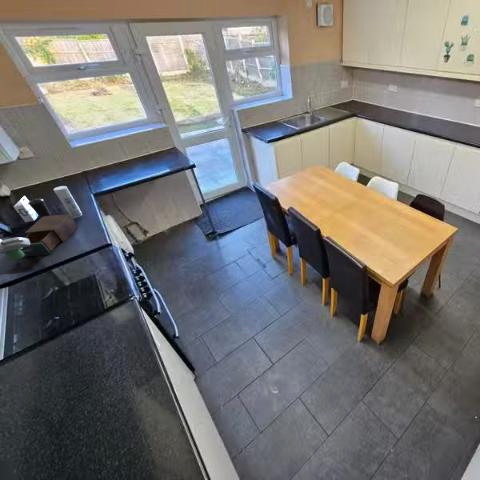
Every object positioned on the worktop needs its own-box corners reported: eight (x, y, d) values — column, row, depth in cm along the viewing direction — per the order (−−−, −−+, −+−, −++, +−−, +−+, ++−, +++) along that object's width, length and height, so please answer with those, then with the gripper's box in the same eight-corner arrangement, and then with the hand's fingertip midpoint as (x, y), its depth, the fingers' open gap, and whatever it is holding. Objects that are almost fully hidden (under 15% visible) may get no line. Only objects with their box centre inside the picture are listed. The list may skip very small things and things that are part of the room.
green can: (7, 261, 134) (-6, 248, 128) (15, 254, 138) (3, 241, 133) (20, 260, 134) (7, 247, 129) (27, 252, 138) (15, 240, 133)
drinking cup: (55, 215, 182) (37, 188, 170) (56, 220, 177) (38, 192, 166) (40, 220, 178) (20, 192, 166) (41, 224, 173) (21, 196, 162)
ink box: (29, 216, 181) (15, 196, 173) (39, 214, 183) (25, 195, 175) (24, 222, 175) (9, 202, 166) (34, 220, 177) (19, 200, 168)
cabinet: (63, 242, 159) (53, 229, 153) (36, 245, 157) (24, 232, 151) (78, 226, 171) (69, 213, 165) (53, 229, 170) (42, 216, 164)
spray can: (77, 212, 184) (61, 185, 173) (85, 213, 183) (69, 186, 171) (68, 217, 179) (50, 189, 168) (76, 218, 178) (58, 190, 166)
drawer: (45, 260, 146) (35, 249, 141) (17, 263, 144) (6, 252, 139) (65, 237, 161) (57, 226, 156) (41, 240, 160) (31, 229, 155)
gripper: (16, 232, 125) (36, 237, 138) (-44, 245, 117) (-17, 249, 130) (20, 245, 124) (39, 249, 137) (-41, 259, 117) (-14, 262, 130)
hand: (11, 249), depth 134 cm, fingers closed on green can, 5 cm apart
